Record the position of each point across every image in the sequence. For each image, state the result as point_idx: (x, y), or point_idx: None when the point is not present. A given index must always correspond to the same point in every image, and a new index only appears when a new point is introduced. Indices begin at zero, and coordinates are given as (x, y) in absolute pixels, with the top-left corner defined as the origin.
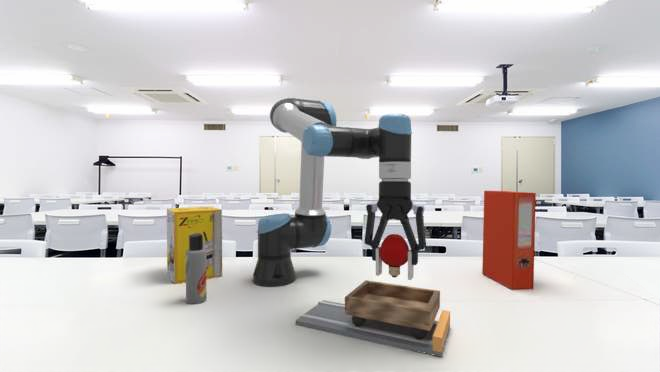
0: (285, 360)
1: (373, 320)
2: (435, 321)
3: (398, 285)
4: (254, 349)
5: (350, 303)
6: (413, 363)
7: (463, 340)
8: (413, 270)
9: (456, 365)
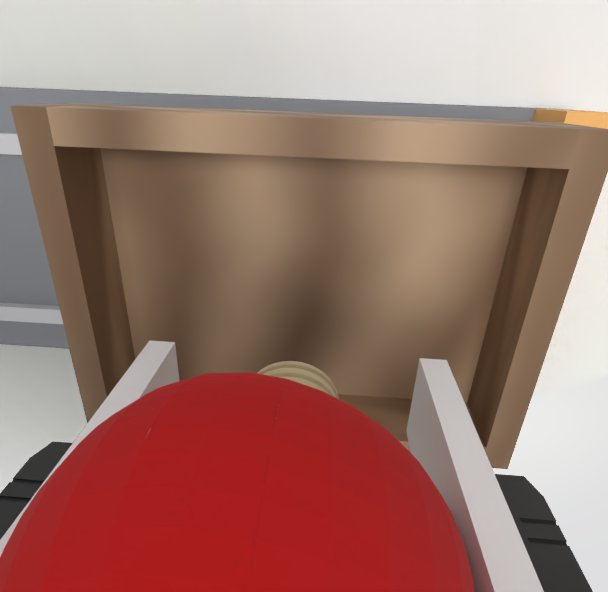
0: None
1: None
2: (498, 118)
3: (289, 133)
4: (5, 480)
5: None
6: None
7: (598, 223)
8: (461, 396)
9: None
